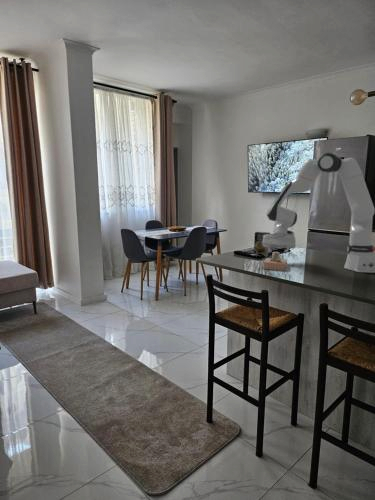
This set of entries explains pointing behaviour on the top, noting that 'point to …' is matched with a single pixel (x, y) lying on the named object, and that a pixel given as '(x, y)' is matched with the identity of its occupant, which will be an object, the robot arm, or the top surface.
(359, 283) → the top surface
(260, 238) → the coffee box
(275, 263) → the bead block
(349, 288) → the top surface
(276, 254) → the ash peg
